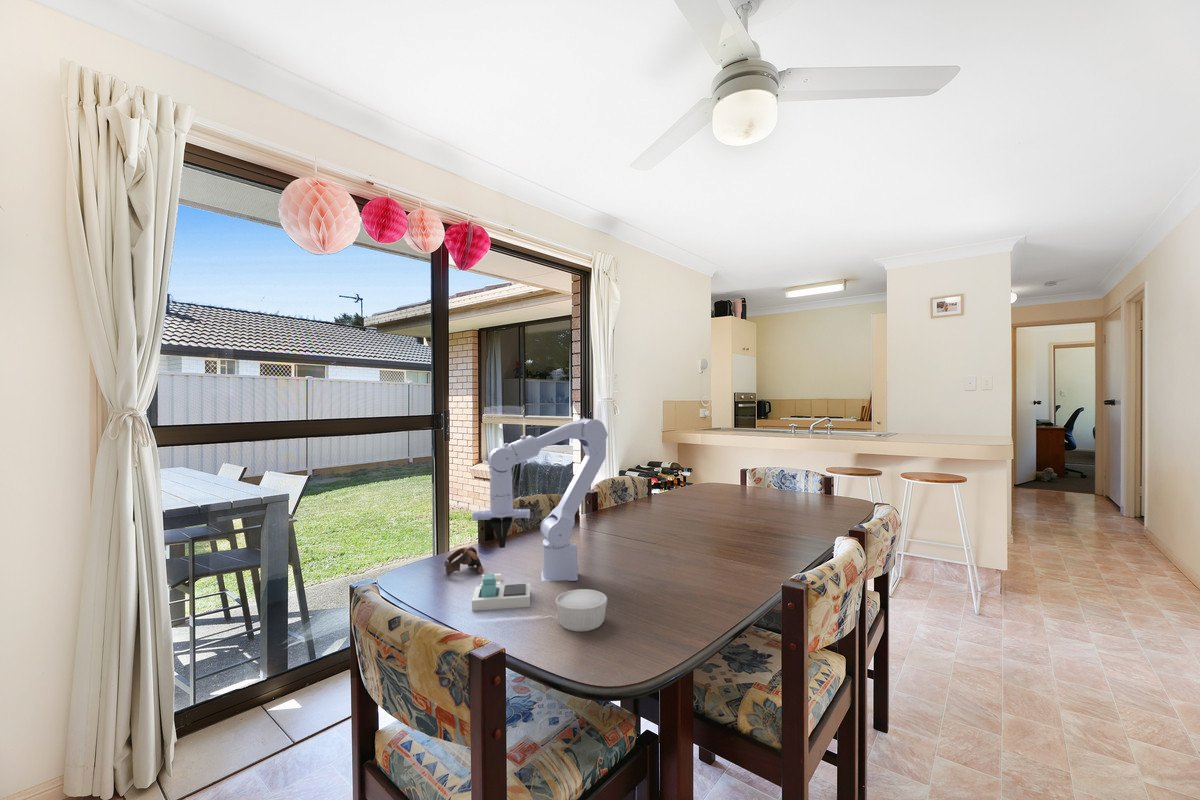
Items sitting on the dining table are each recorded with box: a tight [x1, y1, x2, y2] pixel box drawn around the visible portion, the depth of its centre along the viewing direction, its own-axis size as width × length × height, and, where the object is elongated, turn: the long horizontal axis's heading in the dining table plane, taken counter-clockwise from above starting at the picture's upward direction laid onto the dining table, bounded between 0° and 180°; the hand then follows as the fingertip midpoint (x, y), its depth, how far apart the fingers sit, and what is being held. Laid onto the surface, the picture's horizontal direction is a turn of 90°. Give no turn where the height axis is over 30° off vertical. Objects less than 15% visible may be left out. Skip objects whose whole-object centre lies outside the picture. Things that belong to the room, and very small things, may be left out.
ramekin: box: [554, 588, 608, 632], centre depth 109 cm, size 11×11×5 cm
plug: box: [481, 573, 497, 598], centre depth 120 cm, size 3×4×6 cm
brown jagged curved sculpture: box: [443, 546, 484, 575], centre depth 141 cm, size 12×10×8 cm
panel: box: [471, 582, 531, 612], centre depth 120 cm, size 13×9×3 cm
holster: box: [479, 573, 502, 586], centre depth 130 cm, size 5×8×2 cm, turn 8°
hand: (502, 546), depth 132 cm, fingers closed
